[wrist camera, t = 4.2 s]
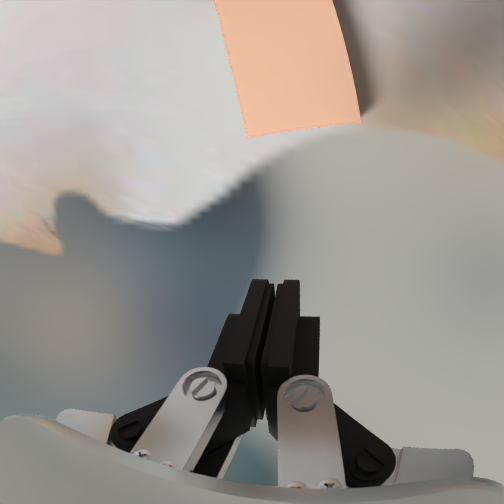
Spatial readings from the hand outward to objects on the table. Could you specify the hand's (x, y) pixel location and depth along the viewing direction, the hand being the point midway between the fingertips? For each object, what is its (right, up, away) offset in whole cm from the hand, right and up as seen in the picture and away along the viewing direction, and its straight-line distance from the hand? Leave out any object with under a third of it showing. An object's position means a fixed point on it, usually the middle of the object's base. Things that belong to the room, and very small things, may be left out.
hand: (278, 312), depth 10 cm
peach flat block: (+2, +17, +8) cm, 19 cm away
